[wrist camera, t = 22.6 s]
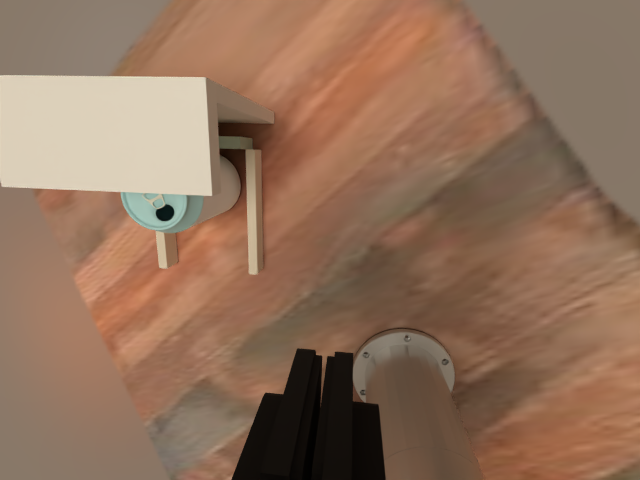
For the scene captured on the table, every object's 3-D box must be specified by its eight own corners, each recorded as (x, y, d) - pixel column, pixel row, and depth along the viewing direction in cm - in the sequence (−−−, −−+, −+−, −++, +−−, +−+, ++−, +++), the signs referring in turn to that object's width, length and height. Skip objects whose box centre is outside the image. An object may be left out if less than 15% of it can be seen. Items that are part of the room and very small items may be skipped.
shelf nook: (275, 268, 40) (220, 346, 24) (159, 260, 42) (33, 329, 25) (274, 112, 36) (205, 77, 19) (144, 109, 37) (-23, 75, 21)
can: (251, 170, 38) (206, 177, 26) (229, 223, 40) (177, 252, 28) (196, 141, 37) (126, 136, 26) (176, 196, 39) (102, 214, 28)
